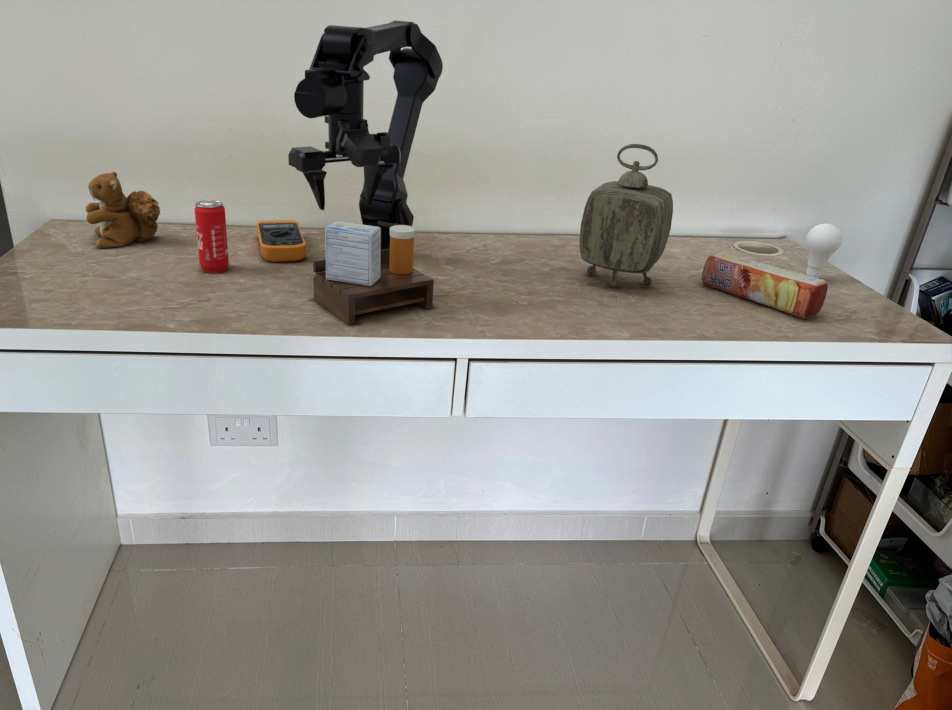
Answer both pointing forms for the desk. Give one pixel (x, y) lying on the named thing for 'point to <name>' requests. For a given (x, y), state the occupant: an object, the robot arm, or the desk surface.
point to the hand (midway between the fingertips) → (345, 206)
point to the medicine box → (353, 253)
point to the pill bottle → (401, 249)
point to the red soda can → (211, 236)
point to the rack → (371, 291)
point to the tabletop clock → (626, 223)
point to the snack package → (765, 284)
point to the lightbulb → (821, 247)
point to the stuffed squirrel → (120, 213)
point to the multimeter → (281, 240)
